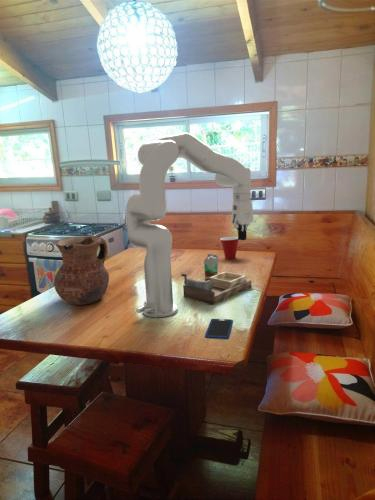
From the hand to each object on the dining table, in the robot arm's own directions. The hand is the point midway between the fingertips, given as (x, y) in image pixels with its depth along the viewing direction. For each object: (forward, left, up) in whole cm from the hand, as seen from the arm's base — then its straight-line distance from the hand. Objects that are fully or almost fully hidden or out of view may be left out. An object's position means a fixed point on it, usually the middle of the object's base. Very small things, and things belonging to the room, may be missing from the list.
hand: (242, 239), depth 156 cm
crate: (-11, 0, -18) cm, 21 cm away
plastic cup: (+32, +31, -19) cm, 49 cm away
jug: (-57, +39, -19) cm, 71 cm away
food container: (-3, +15, -19) cm, 25 cm away
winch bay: (-18, 0, -19) cm, 26 cm away
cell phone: (-45, -22, -20) cm, 54 cm away
